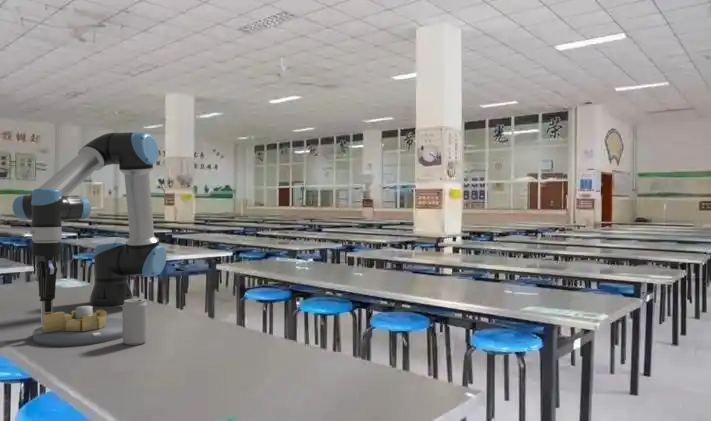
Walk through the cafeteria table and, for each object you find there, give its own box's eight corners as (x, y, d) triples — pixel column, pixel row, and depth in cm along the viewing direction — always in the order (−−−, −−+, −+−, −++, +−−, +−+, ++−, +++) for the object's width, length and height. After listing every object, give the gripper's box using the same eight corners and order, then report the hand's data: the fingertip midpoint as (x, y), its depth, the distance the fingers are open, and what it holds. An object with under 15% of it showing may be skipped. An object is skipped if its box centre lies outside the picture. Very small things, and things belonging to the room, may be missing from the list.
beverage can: (138, 346, 146) (138, 302, 146) (117, 345, 147) (117, 301, 147) (152, 340, 152) (152, 298, 152) (131, 339, 154) (131, 297, 153)
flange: (115, 320, 177) (115, 296, 177) (145, 335, 158) (145, 308, 158) (24, 332, 160) (24, 305, 160) (44, 351, 140) (44, 321, 140)
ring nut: (98, 320, 167) (98, 304, 167) (110, 327, 158) (110, 310, 158) (39, 328, 156) (39, 311, 156) (48, 335, 148) (48, 317, 147)
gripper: (27, 240, 159) (27, 320, 160) (37, 243, 149) (37, 328, 150) (55, 239, 164) (55, 316, 165) (67, 242, 155) (67, 324, 155)
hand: (46, 322), depth 157 cm, fingers closed
